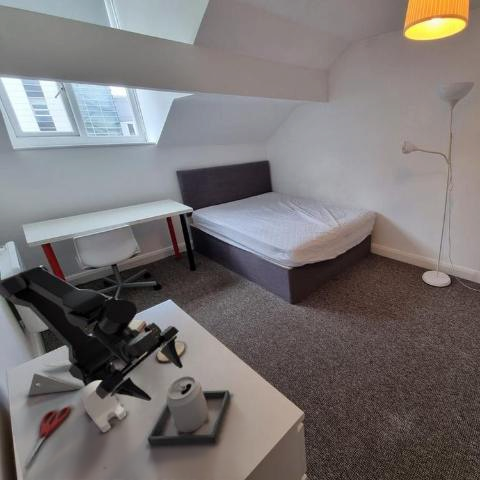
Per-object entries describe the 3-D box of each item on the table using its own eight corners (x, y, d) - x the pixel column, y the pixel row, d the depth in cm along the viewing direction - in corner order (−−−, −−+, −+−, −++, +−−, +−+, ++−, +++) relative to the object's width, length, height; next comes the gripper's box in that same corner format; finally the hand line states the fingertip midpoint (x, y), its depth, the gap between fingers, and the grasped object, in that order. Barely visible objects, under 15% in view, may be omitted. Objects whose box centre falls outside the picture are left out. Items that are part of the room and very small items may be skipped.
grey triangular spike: (93, 372, 82) (48, 367, 81) (81, 377, 77) (33, 373, 76) (89, 392, 81) (43, 388, 80) (76, 399, 76) (27, 395, 75)
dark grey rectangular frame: (150, 445, 62) (147, 439, 61) (174, 398, 73) (172, 391, 72) (215, 443, 62) (213, 437, 61) (230, 396, 73) (228, 390, 72)
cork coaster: (156, 365, 84) (155, 364, 83) (159, 347, 90) (158, 346, 90) (184, 356, 86) (183, 355, 86) (185, 340, 93) (184, 338, 93)
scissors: (46, 411, 70) (48, 414, 70) (7, 471, 58) (10, 473, 58) (71, 405, 71) (72, 407, 72) (38, 461, 59) (40, 464, 60)
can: (197, 437, 64) (185, 404, 59) (170, 431, 65) (156, 398, 60) (214, 407, 70) (205, 375, 66) (189, 402, 72) (178, 370, 67)
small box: (143, 348, 90) (135, 329, 87) (130, 348, 90) (122, 330, 87) (151, 336, 95) (145, 319, 92) (139, 337, 95) (132, 319, 92)
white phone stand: (109, 396, 74) (96, 370, 70) (127, 414, 69) (113, 388, 65) (87, 412, 70) (71, 386, 66) (103, 433, 65) (87, 406, 61)
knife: (129, 360, 86) (136, 348, 90) (127, 354, 85) (134, 343, 89) (38, 375, 82) (50, 362, 86) (34, 369, 81) (46, 356, 85)
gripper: (83, 355, 52) (142, 410, 53) (163, 299, 68) (207, 342, 69) (73, 374, 57) (126, 423, 58) (149, 318, 73) (190, 357, 74)
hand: (167, 382), depth 65 cm, fingers open, 9 cm apart
